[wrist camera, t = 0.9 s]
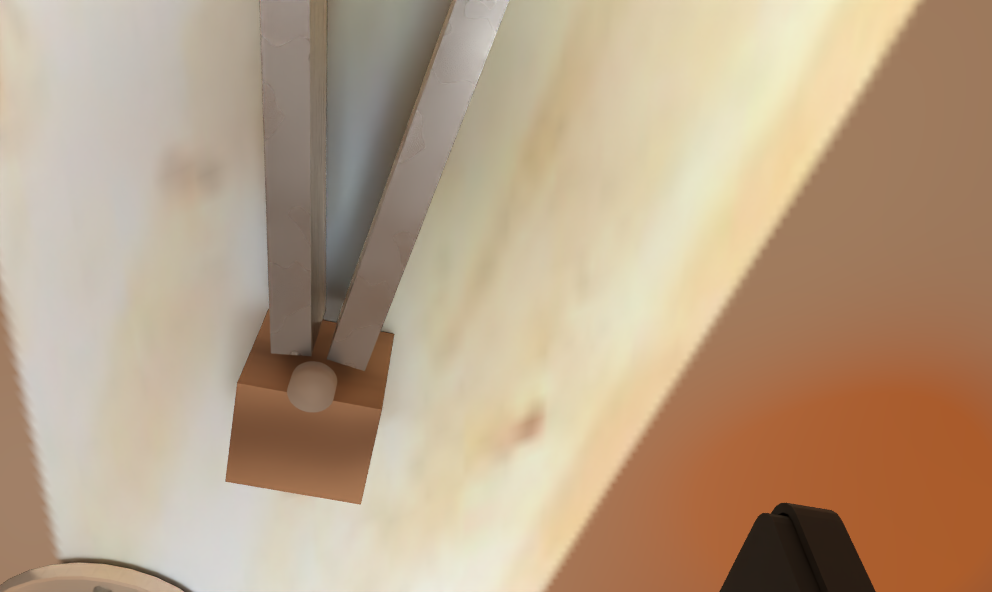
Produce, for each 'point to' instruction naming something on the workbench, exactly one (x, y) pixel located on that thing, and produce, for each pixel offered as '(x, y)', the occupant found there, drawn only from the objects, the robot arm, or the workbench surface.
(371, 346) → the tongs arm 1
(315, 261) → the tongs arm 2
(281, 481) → the pivot block
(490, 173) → the workbench surface
